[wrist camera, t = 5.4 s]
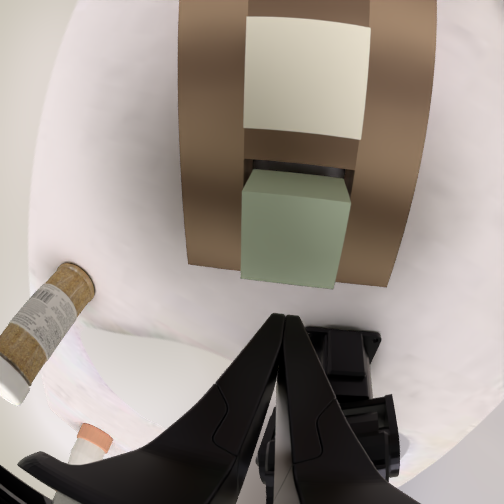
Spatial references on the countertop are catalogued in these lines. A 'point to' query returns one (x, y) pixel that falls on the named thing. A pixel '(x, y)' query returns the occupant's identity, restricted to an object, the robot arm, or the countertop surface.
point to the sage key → (293, 228)
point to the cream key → (305, 76)
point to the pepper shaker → (89, 445)
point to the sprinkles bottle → (40, 329)
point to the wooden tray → (299, 143)
